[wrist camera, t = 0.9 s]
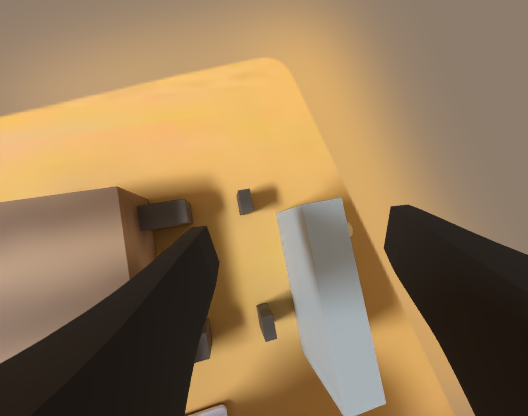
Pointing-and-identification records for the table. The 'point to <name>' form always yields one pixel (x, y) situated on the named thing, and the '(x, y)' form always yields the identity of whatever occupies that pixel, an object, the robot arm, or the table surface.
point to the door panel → (331, 304)
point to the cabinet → (82, 258)
